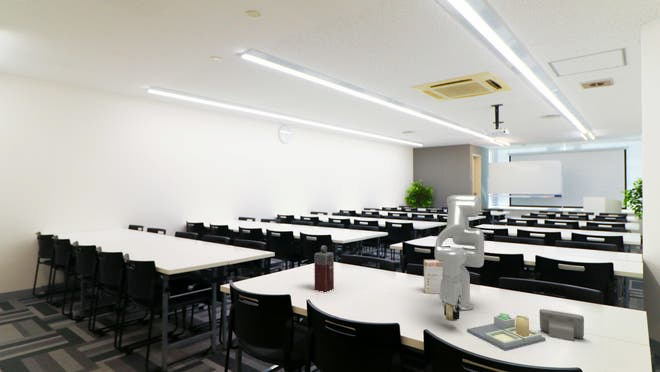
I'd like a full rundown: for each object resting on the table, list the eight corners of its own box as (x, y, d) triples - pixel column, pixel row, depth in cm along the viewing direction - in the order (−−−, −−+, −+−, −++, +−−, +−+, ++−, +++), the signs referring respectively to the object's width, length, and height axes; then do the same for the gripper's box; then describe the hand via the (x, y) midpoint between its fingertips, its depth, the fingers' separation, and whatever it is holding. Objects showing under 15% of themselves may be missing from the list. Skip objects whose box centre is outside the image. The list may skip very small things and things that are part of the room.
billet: (443, 317, 162) (443, 302, 162) (452, 315, 164) (451, 300, 164) (451, 321, 158) (451, 306, 158) (459, 319, 160) (459, 304, 159)
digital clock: (586, 338, 149) (585, 313, 149) (581, 345, 142) (581, 318, 142) (542, 327, 160) (542, 304, 160) (536, 333, 154) (536, 309, 154)
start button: (497, 323, 159) (497, 314, 160) (503, 322, 161) (503, 312, 161) (504, 327, 156) (504, 317, 156) (511, 325, 157) (511, 315, 157)
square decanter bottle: (329, 293, 214) (329, 247, 215) (314, 290, 221) (314, 245, 221) (337, 289, 222) (336, 245, 222) (322, 287, 228) (322, 244, 228)
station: (467, 331, 156) (467, 312, 156) (504, 323, 165) (504, 305, 165) (505, 350, 137) (505, 328, 137) (545, 340, 146) (545, 320, 146)
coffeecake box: (448, 291, 218) (448, 259, 218) (451, 294, 211) (450, 261, 211) (423, 290, 220) (423, 259, 220) (425, 293, 212) (425, 261, 213)
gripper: (432, 274, 167) (432, 312, 167) (458, 284, 151) (458, 325, 152) (444, 272, 170) (445, 309, 170) (471, 281, 154) (472, 322, 155)
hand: (451, 316), depth 161 cm, fingers closed on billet, 5 cm apart
